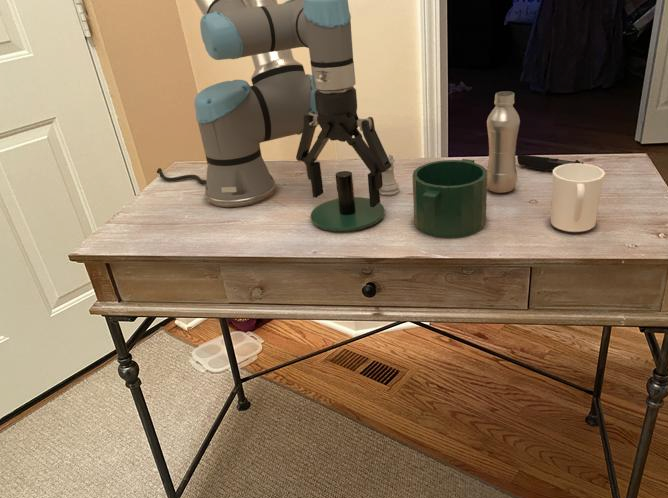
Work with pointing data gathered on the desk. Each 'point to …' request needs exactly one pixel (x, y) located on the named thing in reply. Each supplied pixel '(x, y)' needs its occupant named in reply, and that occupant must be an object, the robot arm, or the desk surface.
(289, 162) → the desk surface
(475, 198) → the pot
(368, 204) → the lid
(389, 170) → the rook chess piece
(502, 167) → the silver metal bottle
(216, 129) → the robot arm
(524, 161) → the electric trimmer
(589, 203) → the mug
